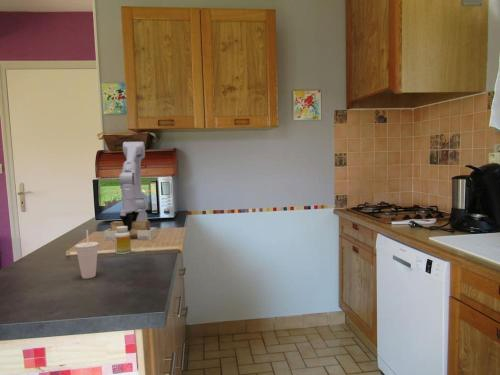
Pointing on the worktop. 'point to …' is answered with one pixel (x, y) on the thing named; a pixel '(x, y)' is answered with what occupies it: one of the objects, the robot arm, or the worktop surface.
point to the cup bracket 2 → (146, 234)
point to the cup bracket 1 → (109, 234)
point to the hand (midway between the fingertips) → (130, 229)
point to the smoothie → (87, 257)
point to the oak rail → (134, 228)
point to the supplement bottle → (122, 240)
